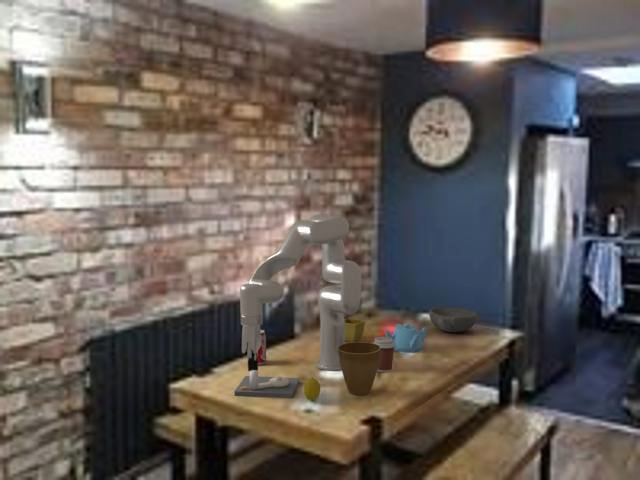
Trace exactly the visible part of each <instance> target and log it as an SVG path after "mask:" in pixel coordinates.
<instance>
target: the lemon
mask: <svg viewBox="0 0 640 480" xmlns="http://www.w3.org/2000/svg"><path fill="white" fill-rule="evenodd" d="M303 394H304V396H305V398H306V399H308V400H310V401H311V402H313V401H314V400H316V399H317V398H318V397H319V396H320V395H321V386H320V382H319V380H317V379H315V378H314V377H311V378H309V379H307V380H306V381H305V383H304V385H303Z"/></svg>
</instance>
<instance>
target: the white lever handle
mask: <svg viewBox="0 0 640 480" xmlns="http://www.w3.org/2000/svg"><path fill="white" fill-rule="evenodd" d="M249 376H250V389H251V390H256V389H260V388H266V387H286V386H288V385H289V379H288V378H289V377H282V376H274V377H275V378H271V379H270V380H269V382H265V383H259V384H258V377H259V370H251V371H249Z"/></svg>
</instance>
